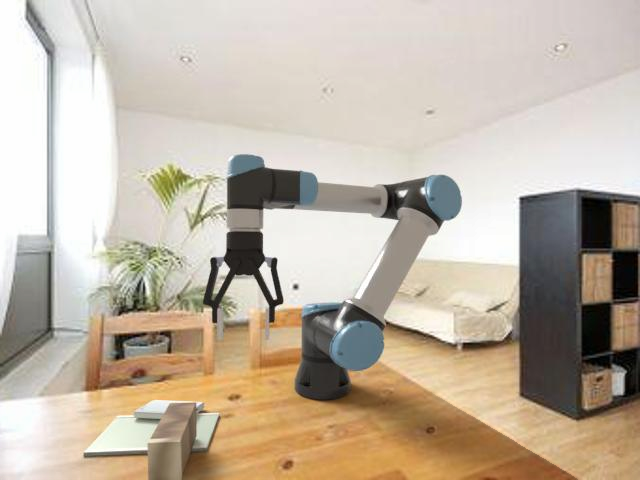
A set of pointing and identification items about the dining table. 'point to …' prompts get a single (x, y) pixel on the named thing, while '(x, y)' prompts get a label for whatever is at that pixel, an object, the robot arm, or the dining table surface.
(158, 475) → the walnut block
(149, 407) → the hard drive
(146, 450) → the board
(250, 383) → the dining table surface
